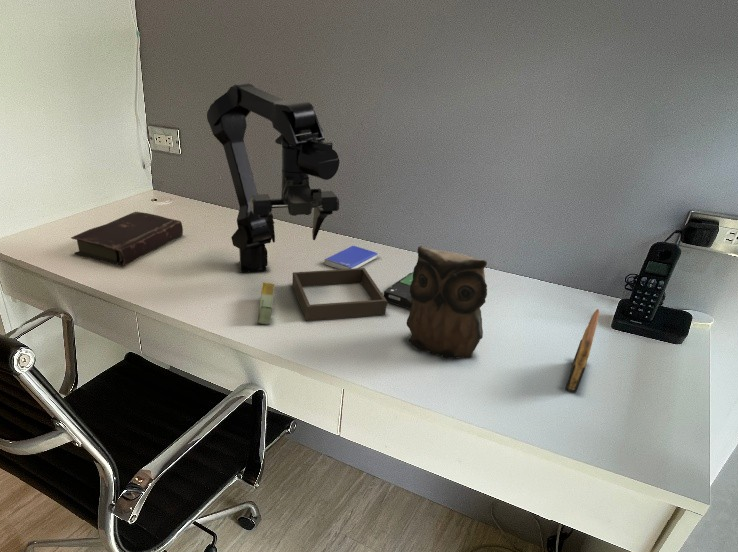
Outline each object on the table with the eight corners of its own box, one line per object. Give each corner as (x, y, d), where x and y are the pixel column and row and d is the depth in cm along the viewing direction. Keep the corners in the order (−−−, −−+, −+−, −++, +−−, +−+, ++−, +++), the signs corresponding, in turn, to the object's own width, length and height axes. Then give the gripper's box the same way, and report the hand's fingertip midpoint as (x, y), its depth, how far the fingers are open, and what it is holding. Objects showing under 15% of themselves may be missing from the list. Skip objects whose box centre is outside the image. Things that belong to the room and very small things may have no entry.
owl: (479, 360, 109) (503, 263, 98) (415, 364, 108) (431, 266, 97) (456, 328, 120) (475, 236, 108) (397, 331, 119) (410, 239, 107)
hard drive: (350, 267, 142) (377, 252, 149) (324, 258, 146) (352, 244, 154) (350, 272, 143) (377, 258, 150) (324, 264, 147) (351, 250, 155)
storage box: (306, 321, 122) (307, 306, 120) (292, 285, 137) (292, 272, 135) (385, 315, 124) (387, 300, 122) (363, 281, 139) (364, 267, 137)
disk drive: (423, 315, 125) (452, 290, 134) (425, 303, 123) (454, 280, 132) (381, 301, 130) (412, 279, 139) (383, 290, 128) (413, 268, 138)
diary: (184, 237, 163) (182, 220, 160) (125, 268, 145) (122, 249, 142) (134, 226, 170) (131, 209, 168) (72, 254, 153) (68, 236, 150)
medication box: (270, 325, 121) (272, 308, 119) (257, 323, 121) (259, 307, 119) (272, 298, 131) (274, 282, 128) (260, 297, 131) (262, 281, 128)
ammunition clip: (573, 361, 109) (593, 305, 102) (583, 364, 108) (604, 308, 101) (564, 389, 101) (585, 331, 95) (576, 392, 101) (598, 334, 94)
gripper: (255, 182, 112) (257, 257, 121) (348, 177, 114) (342, 251, 123) (249, 167, 121) (251, 238, 130) (335, 163, 123) (331, 233, 132)
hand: (293, 240), depth 128 cm, fingers open, 9 cm apart
